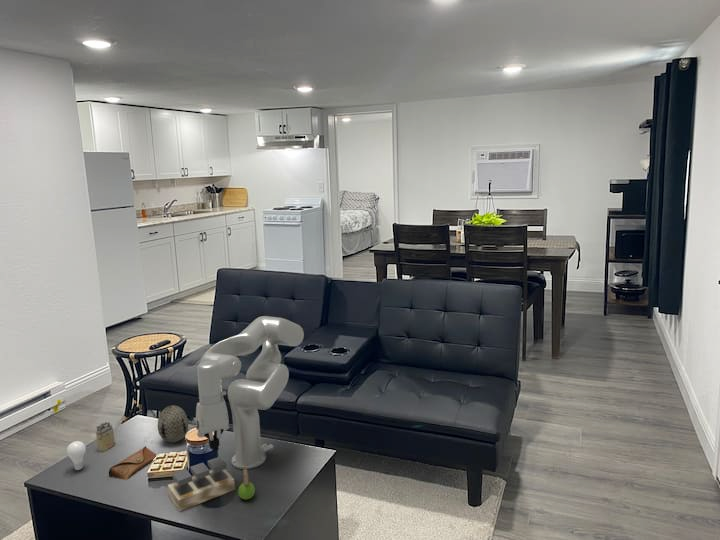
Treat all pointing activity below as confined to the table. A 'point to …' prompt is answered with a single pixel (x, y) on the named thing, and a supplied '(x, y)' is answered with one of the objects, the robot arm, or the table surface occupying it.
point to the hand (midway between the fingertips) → (214, 448)
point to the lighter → (105, 436)
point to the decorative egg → (172, 424)
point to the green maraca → (246, 487)
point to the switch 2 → (217, 464)
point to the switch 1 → (182, 477)
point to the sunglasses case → (132, 464)
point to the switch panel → (201, 489)
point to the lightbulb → (76, 453)
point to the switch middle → (200, 470)
